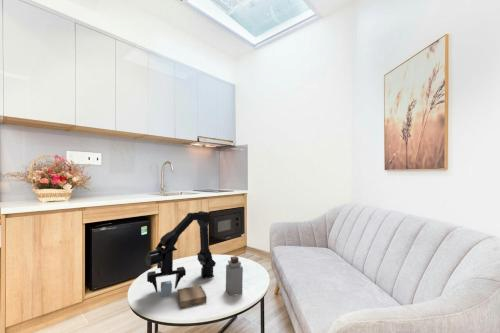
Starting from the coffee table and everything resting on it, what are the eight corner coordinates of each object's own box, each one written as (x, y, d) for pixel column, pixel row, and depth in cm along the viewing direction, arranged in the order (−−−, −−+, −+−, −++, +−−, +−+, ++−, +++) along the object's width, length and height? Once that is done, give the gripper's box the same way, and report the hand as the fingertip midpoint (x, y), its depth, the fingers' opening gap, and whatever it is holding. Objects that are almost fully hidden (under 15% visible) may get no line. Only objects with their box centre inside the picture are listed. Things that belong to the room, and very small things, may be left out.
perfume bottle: (230, 296, 116) (231, 260, 116) (225, 290, 122) (226, 256, 122) (242, 293, 119) (242, 258, 120) (237, 287, 125) (237, 254, 126)
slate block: (170, 289, 121) (170, 280, 121) (171, 294, 117) (171, 284, 117) (160, 291, 119) (160, 282, 119) (161, 296, 115) (161, 286, 115)
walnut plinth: (200, 290, 121) (200, 284, 121) (206, 302, 110) (206, 296, 110) (177, 295, 116) (177, 289, 116) (181, 308, 105) (181, 301, 105)
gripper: (182, 252, 130) (182, 280, 129) (147, 257, 122) (146, 286, 121) (186, 259, 120) (185, 289, 119) (147, 265, 112) (146, 297, 111)
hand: (166, 290), depth 118 cm, fingers open, 9 cm apart
